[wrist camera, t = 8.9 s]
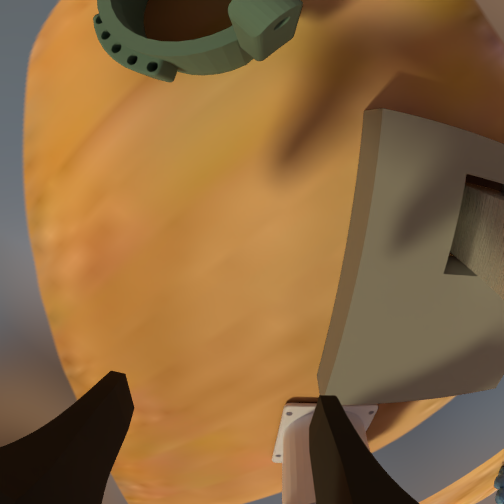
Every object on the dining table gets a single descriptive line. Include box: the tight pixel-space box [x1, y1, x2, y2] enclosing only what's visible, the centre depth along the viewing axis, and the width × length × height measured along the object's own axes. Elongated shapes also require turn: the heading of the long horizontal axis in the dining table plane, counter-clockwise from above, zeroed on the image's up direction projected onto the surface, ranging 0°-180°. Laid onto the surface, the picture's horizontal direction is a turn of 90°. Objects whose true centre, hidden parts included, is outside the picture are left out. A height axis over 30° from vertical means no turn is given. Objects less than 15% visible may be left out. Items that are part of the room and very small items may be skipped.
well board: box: [317, 108, 504, 405], centre depth 17 cm, size 18×16×3 cm
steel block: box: [450, 182, 504, 300], centre depth 13 cm, size 4×4×8 cm
